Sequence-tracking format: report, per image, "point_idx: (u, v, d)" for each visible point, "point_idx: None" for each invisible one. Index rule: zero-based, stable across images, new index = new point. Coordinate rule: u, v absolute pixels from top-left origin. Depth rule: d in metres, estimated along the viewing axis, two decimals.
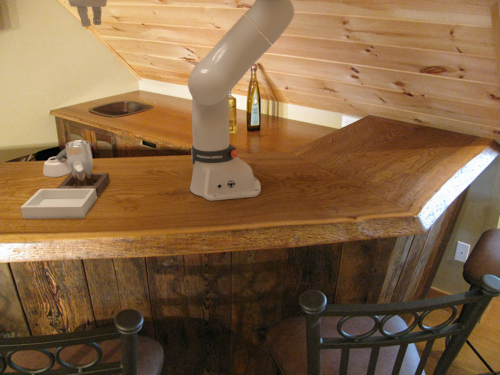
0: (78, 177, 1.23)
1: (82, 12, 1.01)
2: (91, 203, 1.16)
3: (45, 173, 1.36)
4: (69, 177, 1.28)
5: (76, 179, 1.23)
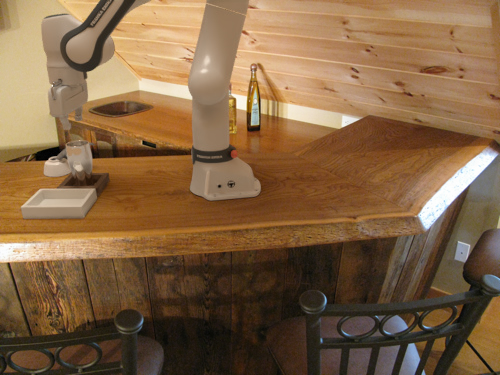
0: (78, 177, 1.23)
1: (63, 119, 1.11)
2: (91, 203, 1.16)
3: (46, 173, 1.36)
4: (69, 177, 1.28)
5: (76, 179, 1.23)
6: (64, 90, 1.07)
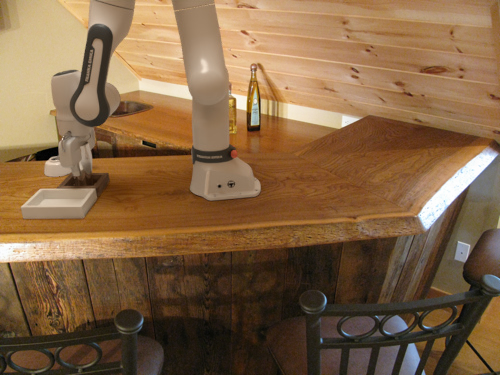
0: (78, 177, 1.23)
1: (73, 167, 1.18)
2: (91, 203, 1.16)
3: (46, 173, 1.36)
4: (69, 177, 1.28)
5: (76, 179, 1.23)
6: (73, 142, 1.13)
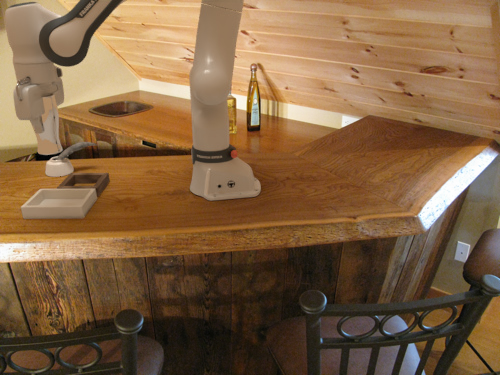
0: (41, 136, 1.03)
1: (34, 121, 0.99)
2: (91, 203, 1.16)
3: (47, 173, 1.36)
4: (69, 177, 1.28)
5: (39, 138, 1.04)
6: (32, 89, 0.94)
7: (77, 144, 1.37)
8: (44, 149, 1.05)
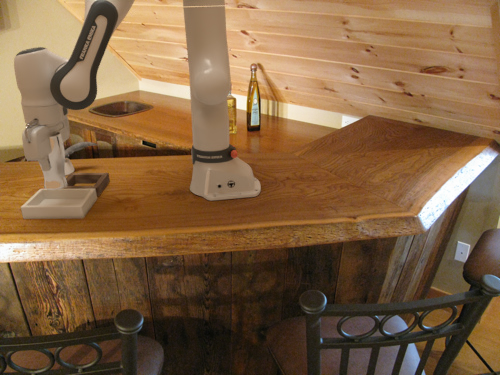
0: (48, 172, 1.07)
1: (42, 160, 1.03)
2: (91, 203, 1.16)
3: None
4: (69, 177, 1.28)
5: (45, 175, 1.08)
6: (40, 131, 0.98)
7: (78, 144, 1.37)
8: (50, 185, 1.08)
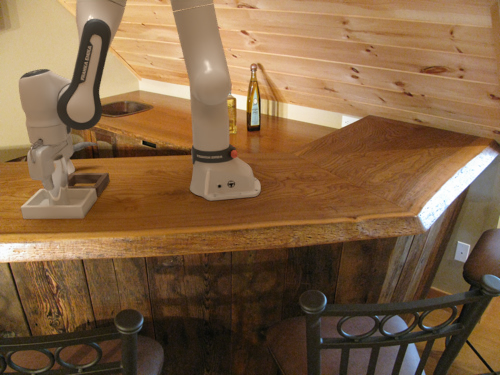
0: (52, 195, 1.09)
1: (45, 180, 1.04)
2: (91, 203, 1.16)
3: None
4: (69, 177, 1.28)
5: (50, 197, 1.10)
6: (44, 151, 1.00)
7: (78, 144, 1.38)
8: None
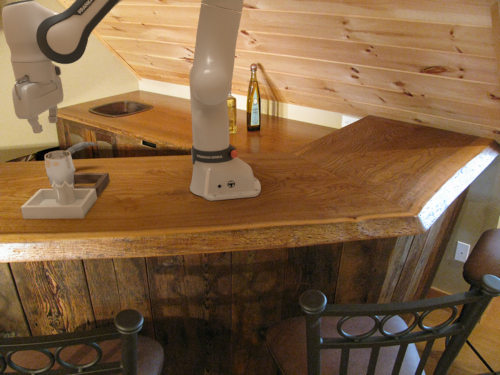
0: (59, 192, 1.11)
1: (32, 121, 0.98)
2: (91, 203, 1.16)
3: None
4: None
5: (56, 194, 1.12)
6: (30, 88, 0.94)
7: (79, 144, 1.38)
8: (62, 203, 1.13)
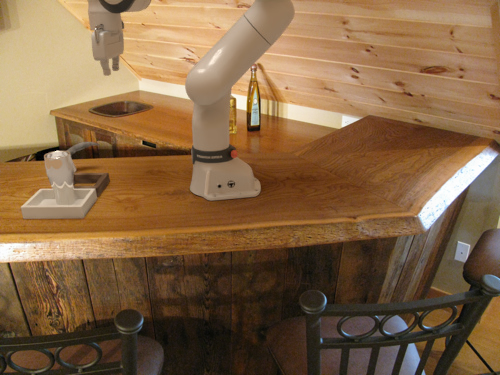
0: (59, 192, 1.12)
1: (104, 64, 1.15)
2: (91, 203, 1.16)
3: None
4: None
5: (56, 194, 1.12)
6: (106, 34, 1.11)
7: (80, 144, 1.38)
8: (62, 203, 1.13)
